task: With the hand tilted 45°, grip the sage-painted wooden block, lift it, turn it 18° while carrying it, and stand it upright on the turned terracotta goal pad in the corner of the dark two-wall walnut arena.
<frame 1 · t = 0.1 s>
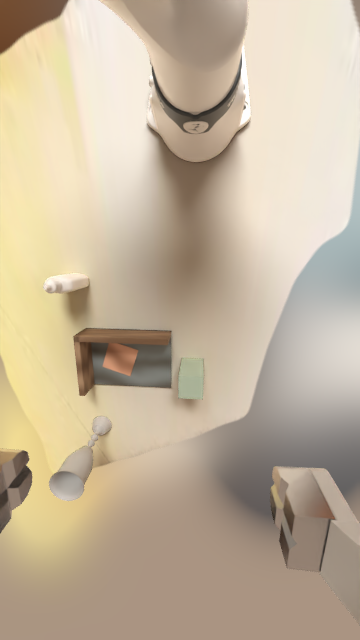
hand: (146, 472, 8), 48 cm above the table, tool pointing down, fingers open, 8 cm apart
eye dropper bottle: (77, 280, 57), on the table
chalice: (102, 423, 66), on the table
sage block: (192, 368, 59), on the table
arena: (129, 357, 60), on the table
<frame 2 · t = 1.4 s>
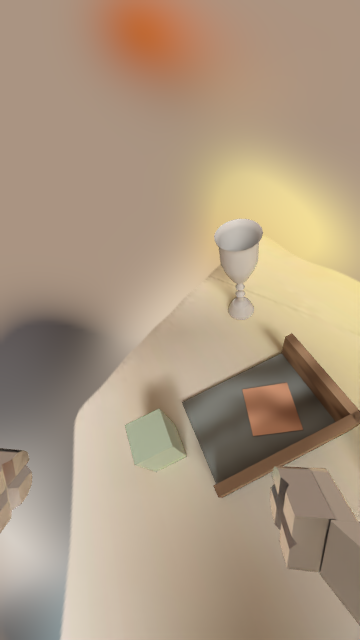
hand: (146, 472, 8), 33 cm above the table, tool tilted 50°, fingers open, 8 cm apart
chalice: (240, 309, 51), on the table
sage block: (166, 447, 39), on the table
arena: (258, 415, 39), on the table
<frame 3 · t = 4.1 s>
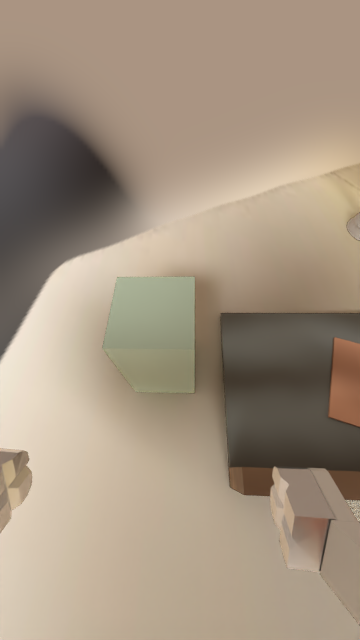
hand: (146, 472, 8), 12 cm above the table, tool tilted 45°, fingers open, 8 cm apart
sage block: (166, 364, 23), on the table
arena: (348, 390, 21), on the table
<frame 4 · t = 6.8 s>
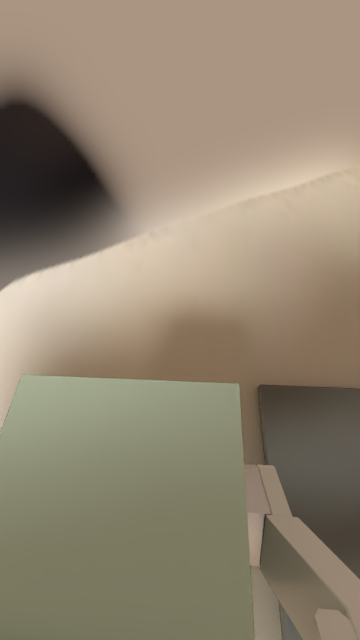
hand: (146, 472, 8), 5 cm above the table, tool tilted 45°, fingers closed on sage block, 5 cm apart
sage block: (162, 486, 12), on the table, touching gripper
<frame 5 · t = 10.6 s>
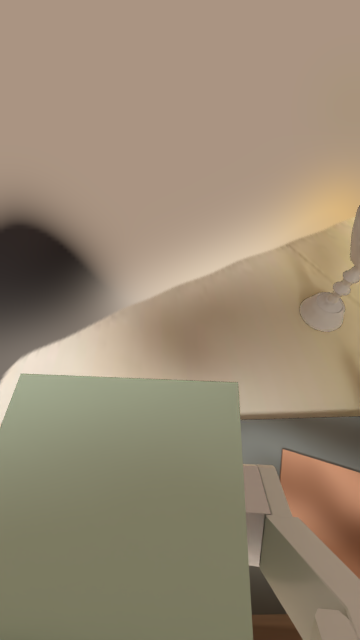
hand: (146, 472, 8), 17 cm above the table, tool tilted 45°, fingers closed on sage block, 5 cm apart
chalice: (320, 314, 31), on the table
sage block: (161, 485, 12), point 12 cm above the table, touching gripper
arena: (295, 508, 21), on the table
when the fingers open (7 cm above the table, at t = 14.6 s): sage block drops 1 cm, resting on arena.
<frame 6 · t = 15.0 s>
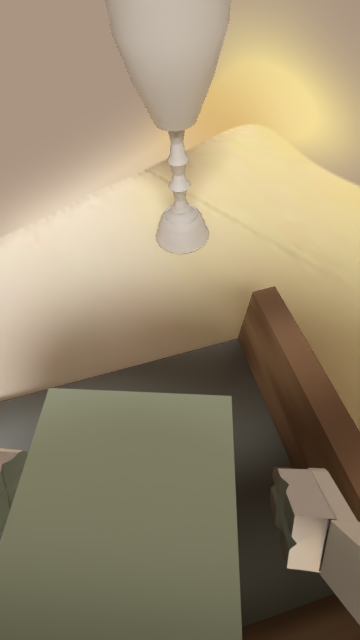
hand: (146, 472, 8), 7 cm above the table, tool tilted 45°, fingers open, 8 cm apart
chalice: (182, 235, 24), on the table
sage block: (164, 484, 13), point 1 cm above the table, touching arena
arena: (130, 494, 14), on the table
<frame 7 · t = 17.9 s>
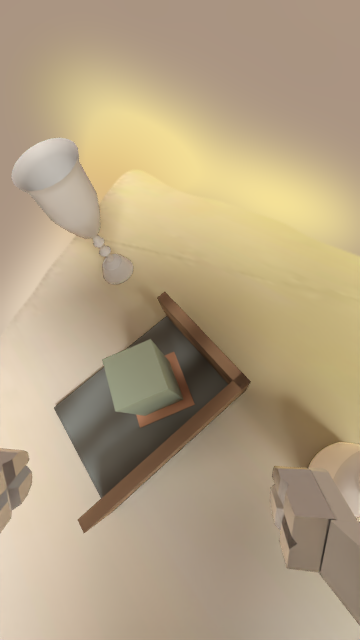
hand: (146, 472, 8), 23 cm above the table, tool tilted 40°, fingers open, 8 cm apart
eye dropper bottle: (330, 467, 26), on the table
chalice: (118, 271, 40), on the table
sage block: (157, 387, 31), point 1 cm above the table, touching arena
arena: (146, 399, 32), on the table
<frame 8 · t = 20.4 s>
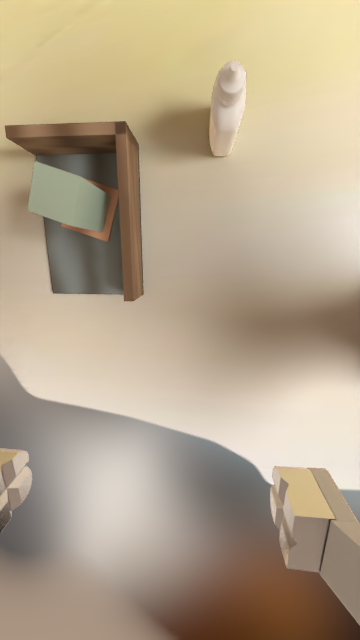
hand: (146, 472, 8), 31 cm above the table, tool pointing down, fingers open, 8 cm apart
eye dropper bottle: (222, 133, 33), on the table
sage block: (89, 208, 35), point 1 cm above the table, touching arena
arena: (93, 224, 37), on the table
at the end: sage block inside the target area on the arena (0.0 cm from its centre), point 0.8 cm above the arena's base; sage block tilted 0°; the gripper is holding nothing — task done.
